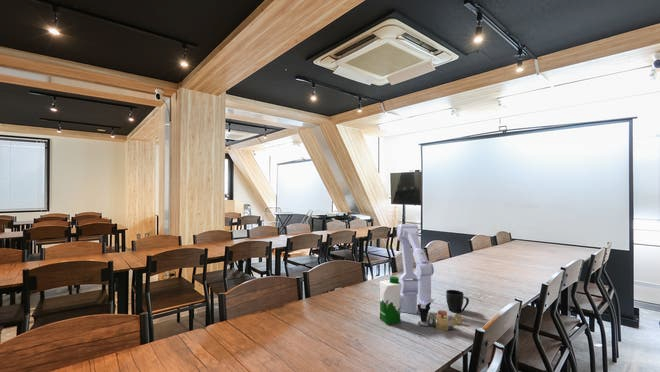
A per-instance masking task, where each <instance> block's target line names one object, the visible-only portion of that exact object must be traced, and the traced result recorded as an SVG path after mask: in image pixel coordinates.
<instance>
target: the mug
mask: <svg viewBox="0 0 660 372" xmlns="http://www.w3.org/2000/svg"><path fill="white" fill-rule="evenodd" d="M445 292H446V293H445V295H446V297H445V298H446V303H447V307H448V310H449V312H451V313H454V314H460V313H463V312H464V311H465V309H467V307H468V305H469V303H470V298H469V297H466V296H464V292H463V291H460V290H457V289H447V290H446V291H445ZM464 299H465V304H464ZM463 305H464V306H463Z"/></svg>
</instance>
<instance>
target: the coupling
mask: <svg viewBox="0 0 660 372" xmlns="http://www.w3.org/2000/svg"><path fill="white" fill-rule="evenodd" d="M419 322H420V324H421V325H424V326H429V325H430V324H431V312H430V311H429V312H428V315H427V320H426V322H424V321H421V320H420V321H419Z"/></svg>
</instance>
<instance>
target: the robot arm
mask: <svg viewBox="0 0 660 372" xmlns="http://www.w3.org/2000/svg"><path fill="white" fill-rule="evenodd" d="M396 235H397V236H396V237H397V240H398V241H399V242H400V247H401V257H402V268H403V273H402V274H401V275H400V277H398V278H399V281H398V282H399V283H401V284H402V287H401V292H400V313H401V312H402V313H406V314H407V313H408V314H413V315H417V314H418V311H419V317H420V321H424V322H426V320H427V315H428V312H430V309H431V304H432V303H434V302H435V301H434V299H432V276H433V275H434V272H435V271H434V270H435V268H434V264H433V263H432V262H431V261H430V260H428V257H427V255H426V254H427V253H425V250H424V249H422V248H421V243H420V241H419V237H418V236H419V226H418V225H417V224H416V223H413V224H411V223H408V224H407V223H406V224H405V223H402V224H401V223H399V224H398V225H397V227H396ZM412 250H413V251H412ZM413 259H414V262H415V264H416V266H415V270H414V265H413ZM414 271H416V274H415V273H414ZM418 303H419V304H418Z"/></svg>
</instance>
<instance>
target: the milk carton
mask: <svg viewBox="0 0 660 372" xmlns="http://www.w3.org/2000/svg"><path fill="white" fill-rule="evenodd" d="M399 278H400V277H397V276H390V277H389V279H385V280H380V281H379V293H380V295H379V320H380V321H382V322H383V323H384V324H385V325H387V326H391V325H396V324H401V312H400V292H401V287H402V284H401V283H399Z"/></svg>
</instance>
